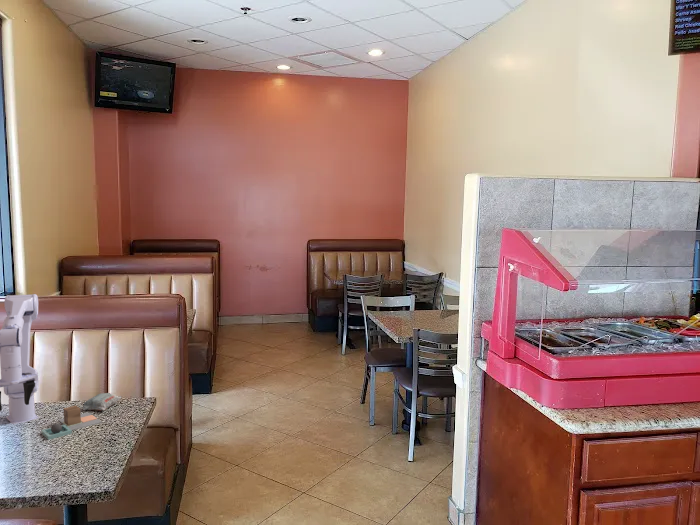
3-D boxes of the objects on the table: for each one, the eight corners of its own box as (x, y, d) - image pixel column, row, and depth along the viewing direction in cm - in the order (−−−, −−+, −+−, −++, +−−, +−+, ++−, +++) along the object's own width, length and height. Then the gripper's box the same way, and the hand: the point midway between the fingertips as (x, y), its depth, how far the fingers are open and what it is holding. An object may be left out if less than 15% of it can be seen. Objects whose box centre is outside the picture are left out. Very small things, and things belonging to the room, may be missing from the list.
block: (64, 422, 188) (63, 408, 188) (76, 419, 191) (75, 405, 190) (68, 425, 185) (67, 411, 185) (80, 422, 188) (80, 408, 188)
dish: (41, 434, 180) (41, 430, 180) (64, 428, 185) (64, 424, 185) (48, 441, 175) (48, 436, 175) (71, 435, 180) (71, 430, 180)
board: (58, 422, 191) (58, 419, 191) (88, 414, 198) (88, 411, 198) (70, 432, 182) (70, 429, 182) (101, 424, 189) (101, 421, 189)
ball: (49, 433, 180) (49, 423, 180) (60, 430, 183) (59, 421, 182) (52, 436, 178) (52, 426, 178) (63, 433, 180) (63, 423, 180)
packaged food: (121, 403, 210) (121, 390, 209) (104, 415, 198) (103, 401, 197) (100, 402, 211) (99, 389, 210) (81, 414, 199) (80, 400, 199)
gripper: (-13, 373, 169) (-10, 416, 170) (40, 363, 179) (42, 404, 180) (-18, 368, 174) (-16, 410, 175) (33, 359, 184) (35, 399, 185)
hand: (13, 406), depth 178 cm, fingers open, 7 cm apart
